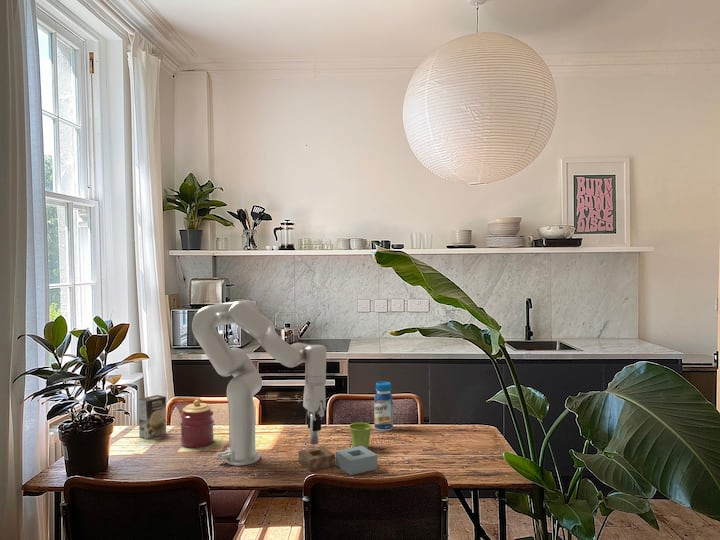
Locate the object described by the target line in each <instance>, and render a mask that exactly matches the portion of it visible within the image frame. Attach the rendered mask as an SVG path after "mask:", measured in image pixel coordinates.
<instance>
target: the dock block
mask: <svg viewBox="0 0 720 540" xmlns="http://www.w3.org/2000/svg"><path fill="white" fill-rule="evenodd" d="M378 462H379V461H378V454H377V453H375V452H373V451H372V450H370V449H369V448H368V449H367V448H365V447H363V446H358V447H353V446H352V447H349V448H344V449H339V450H335V466H337V467H338V468H340V469H341V470H343V471H344V472H345V473H347V474H348V475H349V476H353V475H357V474H361V473H366V472H369V471H374V470H378V465H379V463H378Z"/></svg>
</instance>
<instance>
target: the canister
mask: <svg viewBox="0 0 720 540" xmlns="http://www.w3.org/2000/svg"><path fill="white" fill-rule="evenodd" d="M213 415H214V411H213V410H212V406H211V405H209V404H207V403H206V402H201V401H200V400H199V399H195V400H194V401H193V403H189V404H187V405H186V406H185V407H183V408H182V413H181V414H180V415H179V416H180V418H181V422H180V443H181V446H183V447H184V448H189V449H190V448H201V447H206V446H209V445H211V444H212V443H213V442H214V439H215V434H214V421H215V420H214V419H213Z"/></svg>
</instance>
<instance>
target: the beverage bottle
mask: <svg viewBox="0 0 720 540" xmlns="http://www.w3.org/2000/svg"><path fill="white" fill-rule="evenodd" d="M391 390H392V383H391V382H390V381H377V382H376V383H375V391H376V393H375V394H374V399H373V400H374V402H373V407H374V408H373V409H374V412H373V413H374V429H375V430H377V431H381V432H385V431H391V430H393V428H394V402H393V399H394V398H393V397H394V396H393V395H392V393H391Z"/></svg>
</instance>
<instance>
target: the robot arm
mask: <svg viewBox="0 0 720 540" xmlns="http://www.w3.org/2000/svg"><path fill="white" fill-rule="evenodd" d="M231 324H235V325H236V326H238V327H239V328H240V329H242V330H243V331H245V332H246V333H247V334H249V335H250V336H251V337H253V338H254V339H255V340H256V341H258V343H259V344H260V346H261V347H262V348H263V349H264V350H265V352H266V353H267V354H268V355H269V356H270V357H272V358H273V359H275V361H276V362H278V363H279V364H281V365H282V366H284V367H287V368H295V367H297V366H298V365H300V364H303V363H305V370H304V374H305V375H304V376H305V377H304V385H303V386H304V389H303V399H302V406H303V408H304V409H305V410H307V428H308V429H310V412H312V413H314V420H313V427H312V431H319V432H320V431H321V430H322V419H323V417H324V416H325V411H326V407H327V406H326V405H327V404H326V400H327V398H326V384H327V383H326V382H327V347H326V346H325V345H323V344H309V343H304V342H303V343H302V342H294V343H292V344H290V343H288V342H287V341H285V340H284V339H283V338H282V337H281V336H280V335H279V334H278V333H277V330H275V329H276V328H275V326H274V325H275V324H274V323H273V321H272V320H270V319H269V318H268V317H266V316H265V315H263V314H262V313H261V312H260V311H259V307H258V305H257V304H256V303H255V302H254V301H252V300H250V299H244V300H239V301H230V302H222V303H221V302H220V303H216V304H209V305H207V306H206V305H205V306H204V307H201V308H200V309H199V310H198V311H196V312H195V314H194V316H193V318H192V322H191V330H192V334H193V336H194V338H195V339H196V341H197V343H198V344H199V346H200V348H201V349H202V350H203V352H204V354H205V355H206V357H207V359H208V360H209V362H210V363H211V365H212V366H213V369H215V371H216V373H217V374H218V375H220V376H221V377H230V376H232V377H233V378H232V379H231V380H230V381H229V382H228V384H227V387H226V399H227V407H228V436H229V437H228V438H229V439H228V440H229V442H228V443H229V444H228V445H229V447H226V450H224V451H220V452H216V453H215V454H216V459H222V460H225V461H224V462H225V463H226V464H228V465H230V466H238V467H240V466H249V465H252V464H255V463H256V462H258V461H259V460H260V457H261V455H260V453H259V452H257V451H256V410H255V407H256V406H255V404H254V396H255V395H256V394H257V393H258V392H260V390H261V389H262V386H263V379H262V376H261V374H260V373H259V371H258V369H257V367H256V366H255V365H254V363H253V362H252V360H251V359H250V357H249V355H248V354H247V353H246V352H245V351H244V349H241V348H239V347H235V346H234V347H230V346H229V344H228V343H227V341H226V340H225V338H224V336H222V335H221V333H219V332H218V331H217V327H221V326H225V325H231ZM317 410H319V411H317ZM317 413H319V414H317ZM316 414H317V416H316Z"/></svg>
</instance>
